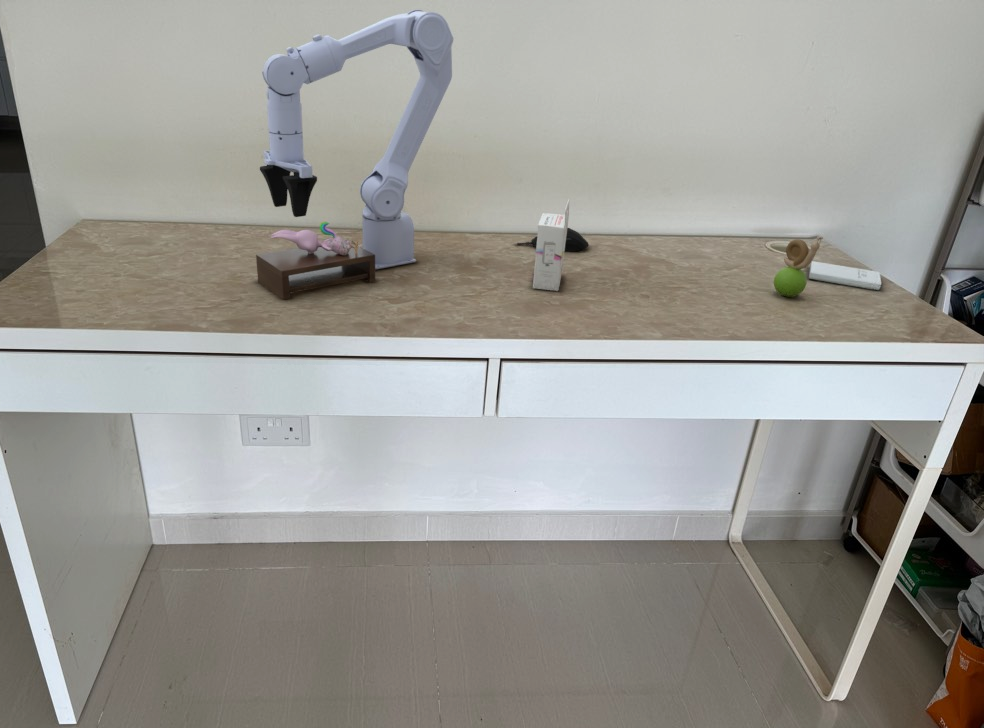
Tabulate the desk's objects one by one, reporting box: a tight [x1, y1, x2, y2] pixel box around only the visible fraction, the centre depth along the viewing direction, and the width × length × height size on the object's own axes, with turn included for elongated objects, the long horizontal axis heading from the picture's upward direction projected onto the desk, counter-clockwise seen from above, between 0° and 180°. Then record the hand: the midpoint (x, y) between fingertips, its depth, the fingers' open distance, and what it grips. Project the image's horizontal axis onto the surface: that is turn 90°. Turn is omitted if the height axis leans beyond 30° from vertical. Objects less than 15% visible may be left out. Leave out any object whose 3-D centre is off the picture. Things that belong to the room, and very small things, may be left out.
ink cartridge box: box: [532, 198, 570, 292], centre depth 138 cm, size 9×5×15 cm, turn 168°
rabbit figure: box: [270, 221, 359, 256], centre depth 134 cm, size 6×6×15 cm
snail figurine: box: [773, 236, 824, 298], centre depth 137 cm, size 5×6×12 cm
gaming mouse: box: [517, 227, 590, 252], centre depth 160 cm, size 6×15×4 cm, turn 89°
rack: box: [255, 239, 376, 301], centre depth 135 cm, size 18×10×5 cm, turn 126°
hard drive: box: [808, 260, 882, 291], centre depth 150 cm, size 2×8×12 cm
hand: (289, 211), depth 138 cm, fingers open, 7 cm apart
